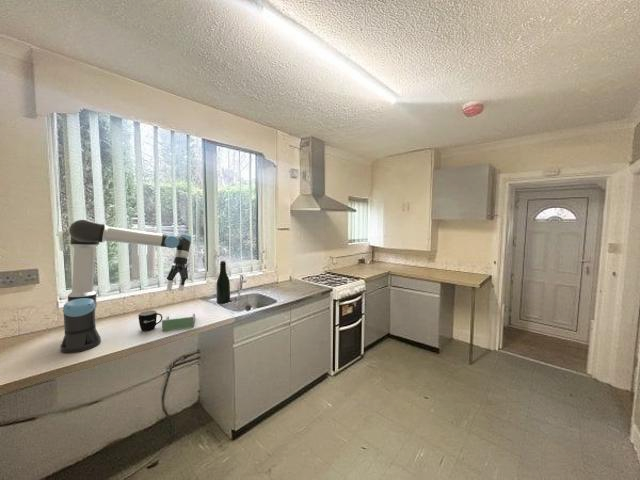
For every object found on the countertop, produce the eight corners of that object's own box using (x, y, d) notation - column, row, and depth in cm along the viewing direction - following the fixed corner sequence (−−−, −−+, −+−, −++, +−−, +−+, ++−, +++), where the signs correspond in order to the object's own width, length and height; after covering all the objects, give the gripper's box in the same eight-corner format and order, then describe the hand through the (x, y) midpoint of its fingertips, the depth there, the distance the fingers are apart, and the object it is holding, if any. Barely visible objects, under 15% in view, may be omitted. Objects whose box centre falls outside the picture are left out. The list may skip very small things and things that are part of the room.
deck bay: (162, 331, 152) (162, 320, 152) (166, 321, 167) (166, 312, 166) (193, 327, 158) (193, 317, 158) (195, 318, 173) (194, 309, 173)
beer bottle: (228, 298, 217) (227, 259, 215) (231, 302, 209) (231, 261, 207) (215, 300, 212) (214, 260, 210) (218, 304, 203) (217, 262, 201)
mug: (140, 333, 148) (140, 316, 147) (137, 329, 155) (137, 312, 154) (164, 328, 156) (164, 311, 156) (160, 323, 163) (160, 308, 162)
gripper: (197, 257, 166) (191, 291, 160) (176, 260, 179) (169, 291, 173) (186, 255, 160) (180, 289, 154) (165, 257, 173) (158, 290, 167)
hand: (174, 290), depth 164 cm, fingers open, 13 cm apart
